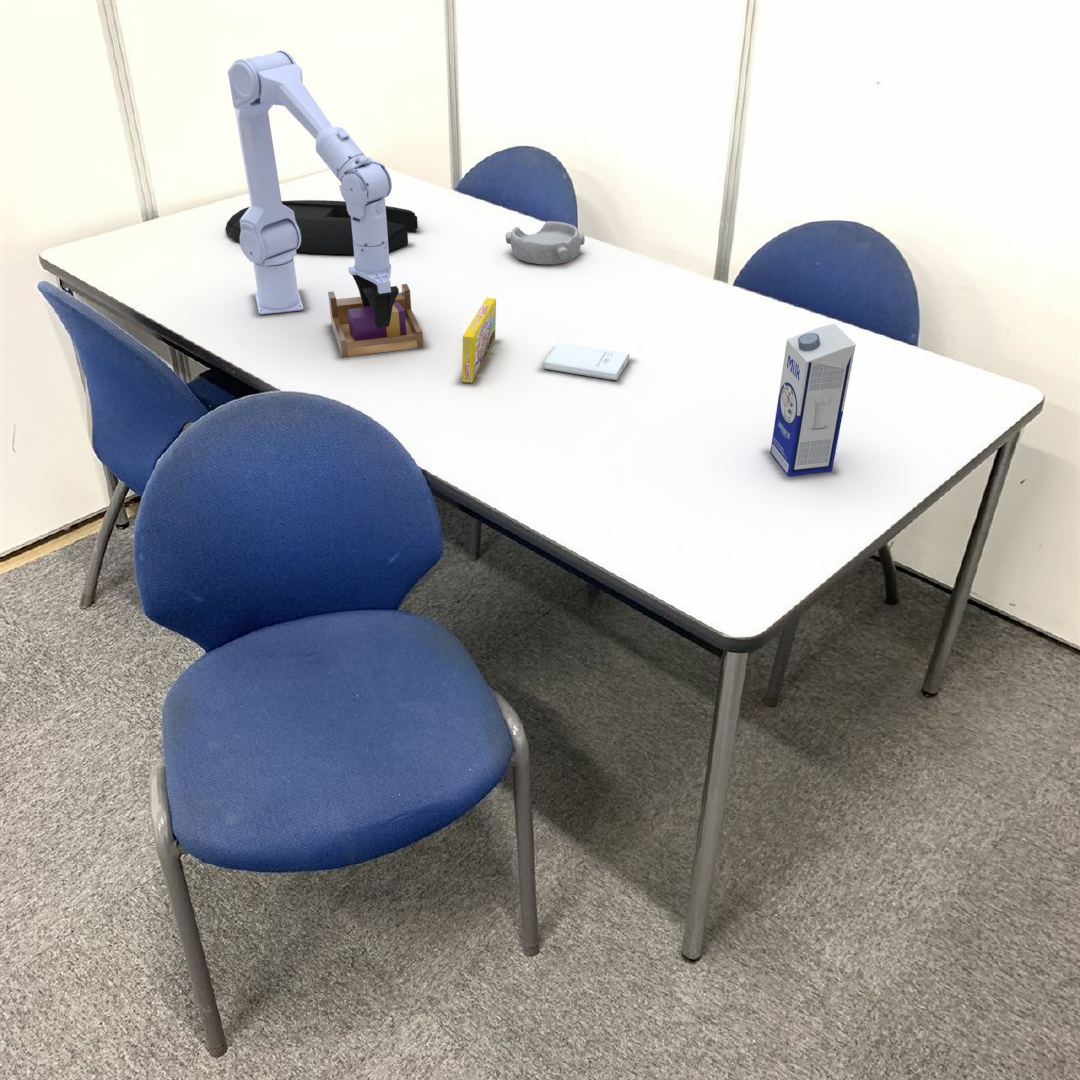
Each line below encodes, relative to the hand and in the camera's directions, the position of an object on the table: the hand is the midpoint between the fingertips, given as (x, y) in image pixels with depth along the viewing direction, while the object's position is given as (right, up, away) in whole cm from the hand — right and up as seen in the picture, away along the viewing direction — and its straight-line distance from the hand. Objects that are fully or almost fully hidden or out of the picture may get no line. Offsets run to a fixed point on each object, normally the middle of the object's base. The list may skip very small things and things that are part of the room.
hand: (376, 317), depth 188 cm
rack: (-1, -2, +4) cm, 5 cm away
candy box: (+18, -8, -3) cm, 20 cm away
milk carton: (+66, -27, -29) cm, 77 cm away
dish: (+29, +20, +37) cm, 51 cm away
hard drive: (+36, -9, -4) cm, 37 cm away
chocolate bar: (0, -2, +2) cm, 3 cm away
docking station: (-19, +27, +46) cm, 57 cm away
